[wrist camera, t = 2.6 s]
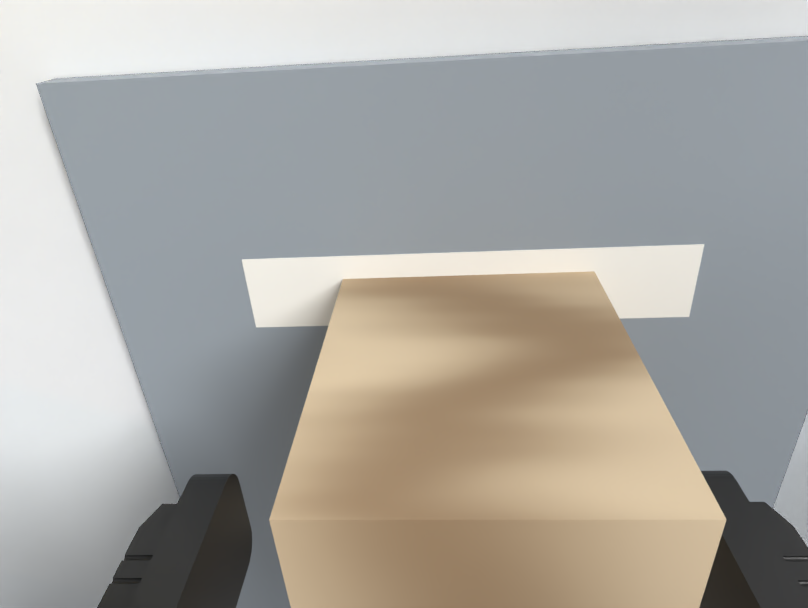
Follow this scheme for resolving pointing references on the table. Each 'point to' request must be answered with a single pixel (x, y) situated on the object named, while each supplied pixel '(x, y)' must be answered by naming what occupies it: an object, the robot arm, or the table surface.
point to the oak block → (489, 456)
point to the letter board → (449, 229)
